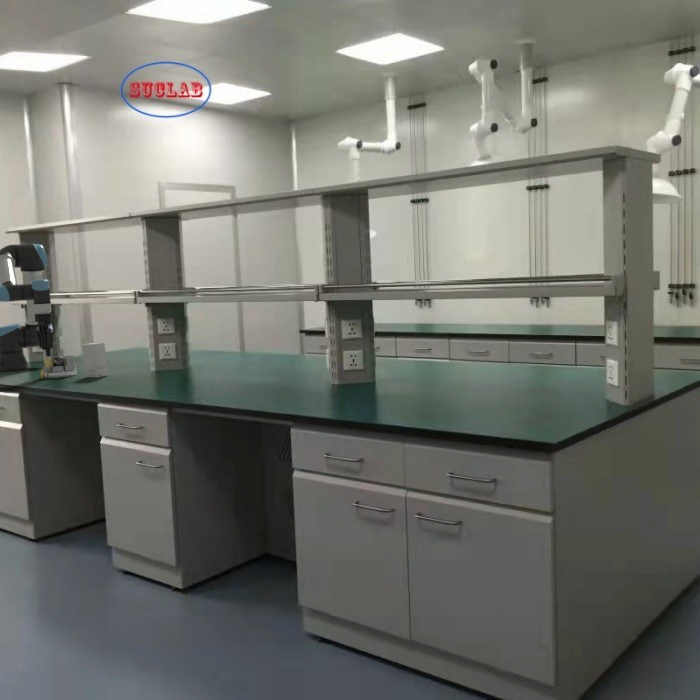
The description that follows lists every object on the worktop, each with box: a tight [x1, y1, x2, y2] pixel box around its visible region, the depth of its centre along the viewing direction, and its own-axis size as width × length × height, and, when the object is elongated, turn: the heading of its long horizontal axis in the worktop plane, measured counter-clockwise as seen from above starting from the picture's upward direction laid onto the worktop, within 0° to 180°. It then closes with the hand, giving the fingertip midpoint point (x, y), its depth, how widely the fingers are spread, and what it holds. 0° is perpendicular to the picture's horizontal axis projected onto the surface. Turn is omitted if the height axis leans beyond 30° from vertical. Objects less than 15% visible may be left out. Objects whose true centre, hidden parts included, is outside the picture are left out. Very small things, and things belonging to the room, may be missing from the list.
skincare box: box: [82, 342, 109, 379], centre depth 352 cm, size 8×7×16 cm
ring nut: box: [42, 355, 77, 372], centre depth 361 cm, size 14×14×6 cm
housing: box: [44, 355, 78, 379], centre depth 361 cm, size 15×15×9 cm
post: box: [40, 369, 46, 380], centre depth 354 cm, size 2×2×4 cm
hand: (47, 363), depth 357 cm, fingers closed
